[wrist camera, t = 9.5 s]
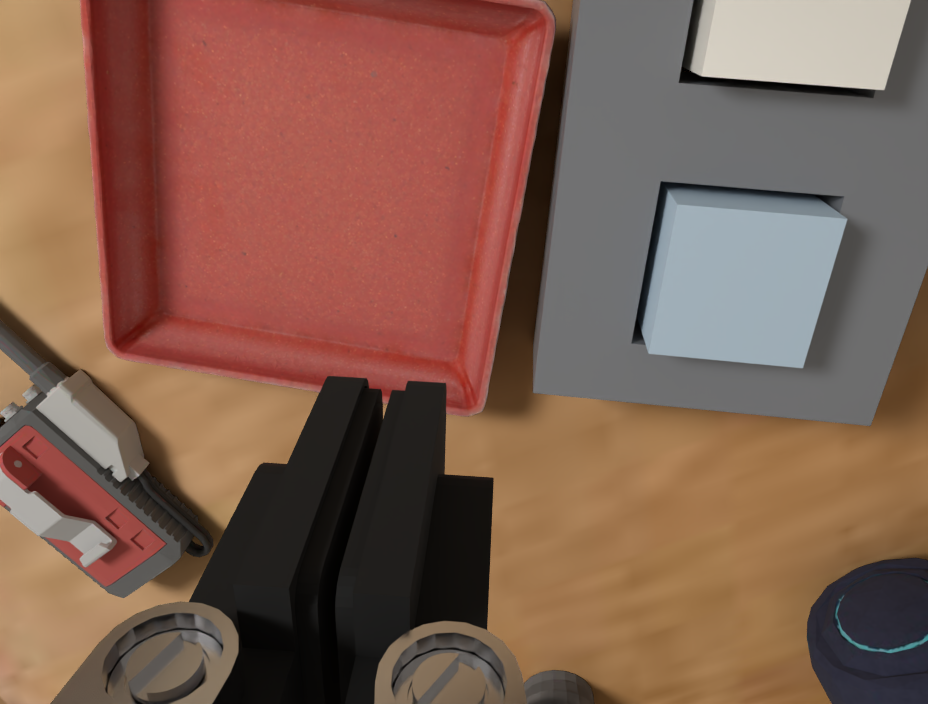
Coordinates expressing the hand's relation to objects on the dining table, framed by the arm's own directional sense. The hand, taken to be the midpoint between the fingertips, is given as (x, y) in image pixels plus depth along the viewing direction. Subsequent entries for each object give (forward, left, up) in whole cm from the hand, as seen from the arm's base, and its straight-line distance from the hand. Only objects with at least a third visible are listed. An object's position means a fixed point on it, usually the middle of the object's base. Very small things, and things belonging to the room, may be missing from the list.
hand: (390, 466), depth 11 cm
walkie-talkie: (+17, -22, -25) cm, 37 cm away
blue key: (+3, +10, -22) cm, 24 cm away
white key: (-7, +10, -22) cm, 25 cm away
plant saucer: (+2, -7, -25) cm, 26 cm away
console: (-2, +10, -24) cm, 26 cm away
